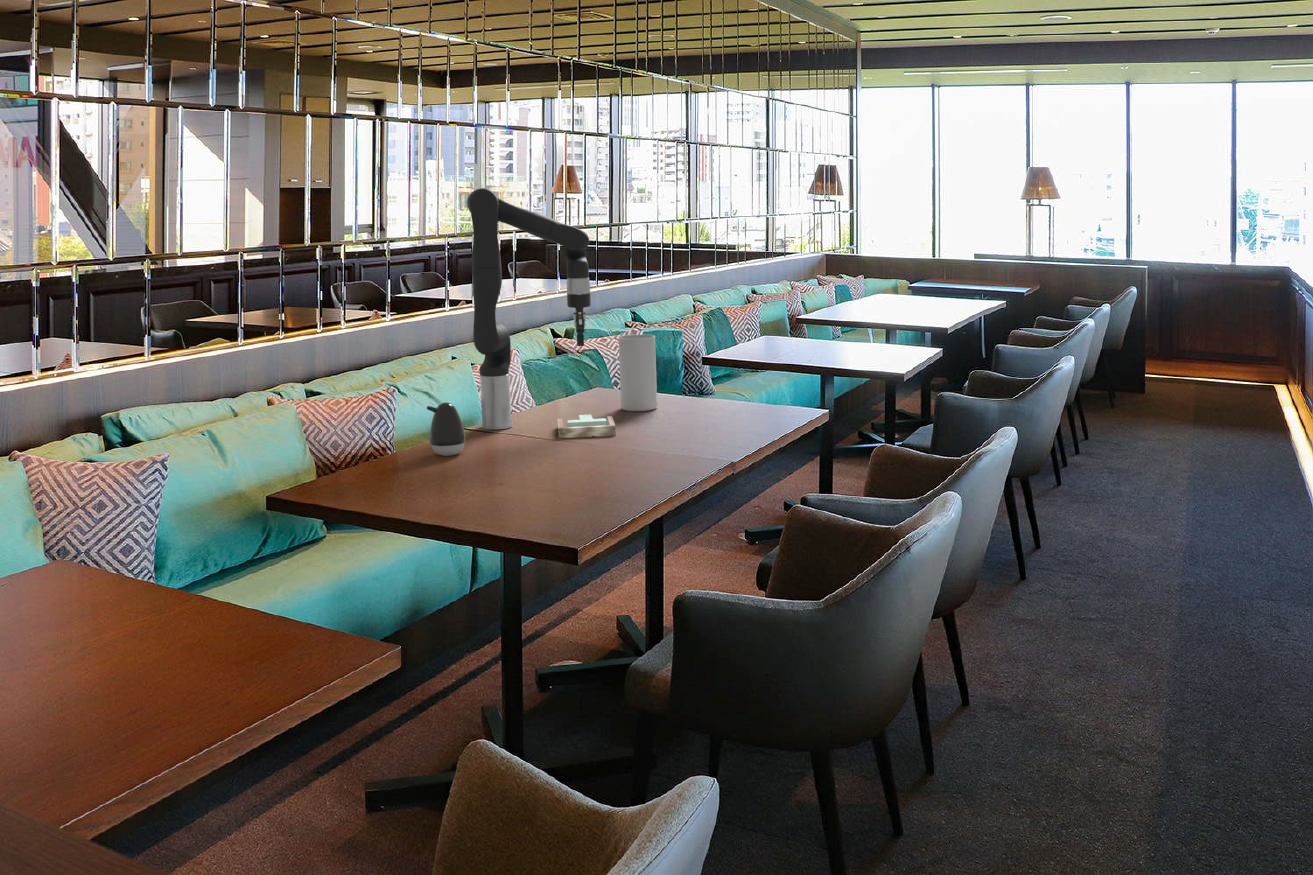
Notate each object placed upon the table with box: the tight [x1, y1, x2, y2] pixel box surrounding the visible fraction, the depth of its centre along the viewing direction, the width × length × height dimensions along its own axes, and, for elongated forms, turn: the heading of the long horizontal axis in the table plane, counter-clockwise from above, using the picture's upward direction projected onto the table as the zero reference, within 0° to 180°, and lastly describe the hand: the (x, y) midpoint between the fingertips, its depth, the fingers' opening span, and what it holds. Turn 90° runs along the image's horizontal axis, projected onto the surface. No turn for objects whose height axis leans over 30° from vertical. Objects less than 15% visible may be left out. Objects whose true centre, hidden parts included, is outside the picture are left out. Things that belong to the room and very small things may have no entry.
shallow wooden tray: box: [557, 415, 616, 439], centre depth 348 cm, size 17×16×3 cm
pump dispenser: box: [426, 402, 466, 457], centre depth 320 cm, size 10×10×15 cm
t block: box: [566, 413, 607, 427], centre depth 350 cm, size 12×12×4 cm
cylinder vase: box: [618, 334, 658, 412], centre depth 382 cm, size 12×12×25 cm
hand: (580, 345), depth 361 cm, fingers closed
